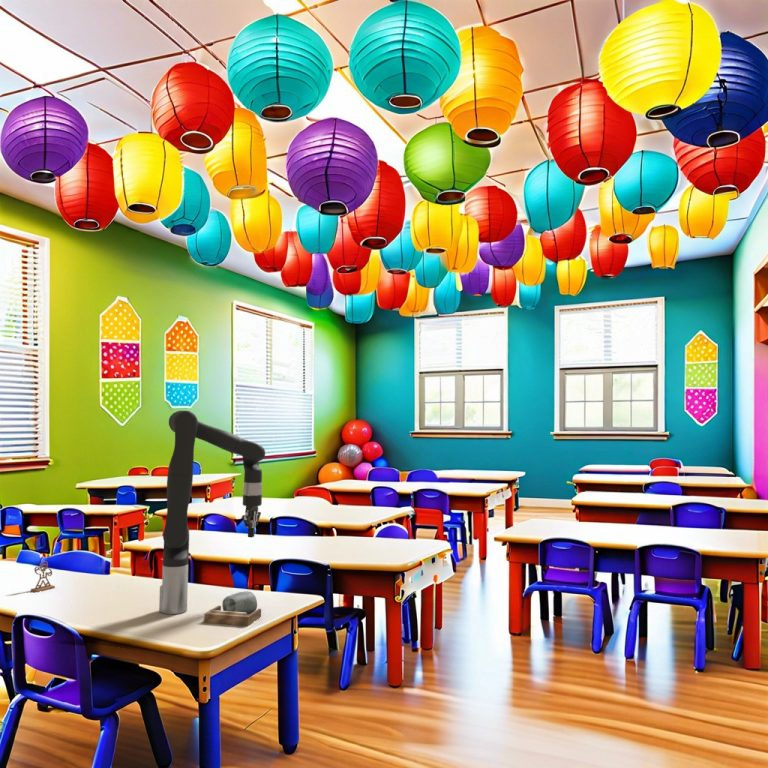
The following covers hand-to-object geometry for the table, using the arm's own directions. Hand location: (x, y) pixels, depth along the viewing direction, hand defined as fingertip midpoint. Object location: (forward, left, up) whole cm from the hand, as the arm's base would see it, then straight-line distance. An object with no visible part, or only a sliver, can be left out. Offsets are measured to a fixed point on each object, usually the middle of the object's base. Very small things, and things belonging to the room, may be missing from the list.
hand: (250, 537), depth 274 cm
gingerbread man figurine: (-91, -7, -25) cm, 94 cm away
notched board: (+5, -26, -25) cm, 37 cm away
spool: (+5, -20, -25) cm, 33 cm away
